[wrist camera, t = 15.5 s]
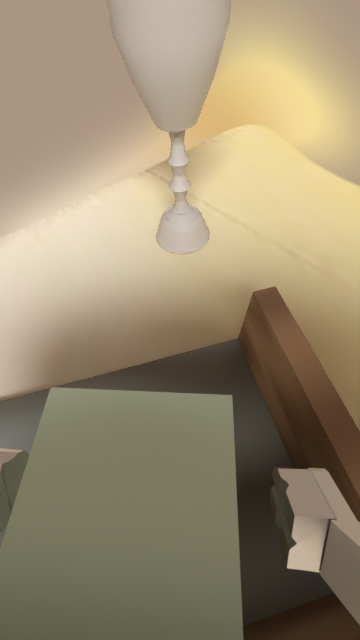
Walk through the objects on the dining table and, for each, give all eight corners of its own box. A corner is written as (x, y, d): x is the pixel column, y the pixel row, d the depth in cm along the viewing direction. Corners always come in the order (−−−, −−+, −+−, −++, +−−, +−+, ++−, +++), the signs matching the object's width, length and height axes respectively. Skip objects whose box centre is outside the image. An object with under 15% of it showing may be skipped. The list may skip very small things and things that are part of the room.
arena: (378, 611, 11) (534, 733, 6) (-100, 792, 10) (-450, 1175, 4) (252, 338, 18) (275, 286, 13) (-36, 414, 17) (-141, 390, 11)
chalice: (206, 270, 22) (233, -230, 6) (134, 254, 23) (9, -183, 8) (227, 216, 25) (277, -194, 10) (163, 205, 26) (116, -167, 11)
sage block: (213, 550, 12) (246, 702, 4) (109, 540, 12) (-37, 664, 5) (212, 434, 14) (232, 395, 7) (126, 429, 15) (50, 387, 7)
